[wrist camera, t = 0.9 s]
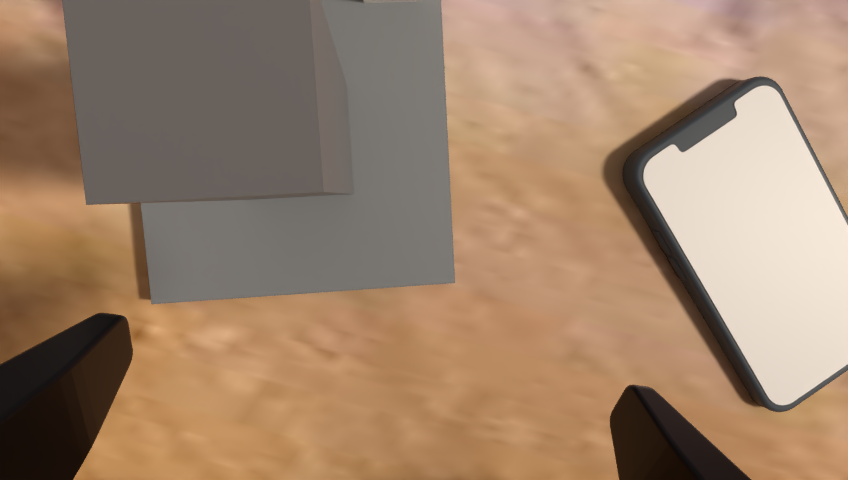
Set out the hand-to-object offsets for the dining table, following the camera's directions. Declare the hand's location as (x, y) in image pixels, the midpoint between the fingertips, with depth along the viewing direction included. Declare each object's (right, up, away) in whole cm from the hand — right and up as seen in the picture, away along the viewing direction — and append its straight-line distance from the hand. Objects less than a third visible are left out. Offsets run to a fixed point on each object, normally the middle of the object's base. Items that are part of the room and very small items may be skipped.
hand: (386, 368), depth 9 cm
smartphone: (+18, +2, +18) cm, 25 cm away
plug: (-5, +7, +14) cm, 16 cm away
